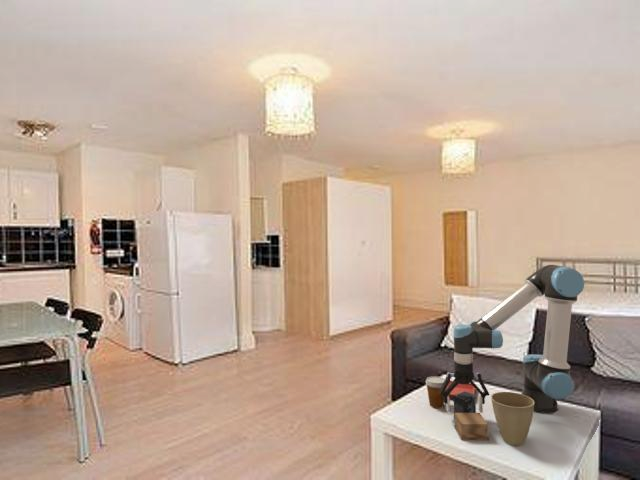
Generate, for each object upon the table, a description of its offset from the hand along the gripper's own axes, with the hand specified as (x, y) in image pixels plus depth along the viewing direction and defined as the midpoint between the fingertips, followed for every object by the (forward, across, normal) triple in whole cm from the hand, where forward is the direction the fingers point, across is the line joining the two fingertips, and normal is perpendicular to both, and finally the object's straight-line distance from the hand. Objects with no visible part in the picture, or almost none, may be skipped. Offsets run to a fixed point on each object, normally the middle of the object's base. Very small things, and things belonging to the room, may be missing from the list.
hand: (464, 411), depth 171 cm
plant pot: (+4, -14, +17) cm, 22 cm away
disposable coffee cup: (+4, +9, -14) cm, 17 cm away
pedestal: (+4, +1, +12) cm, 13 cm away
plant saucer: (+4, -3, -28) cm, 28 cm away
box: (+4, 0, 0) cm, 4 cm away
